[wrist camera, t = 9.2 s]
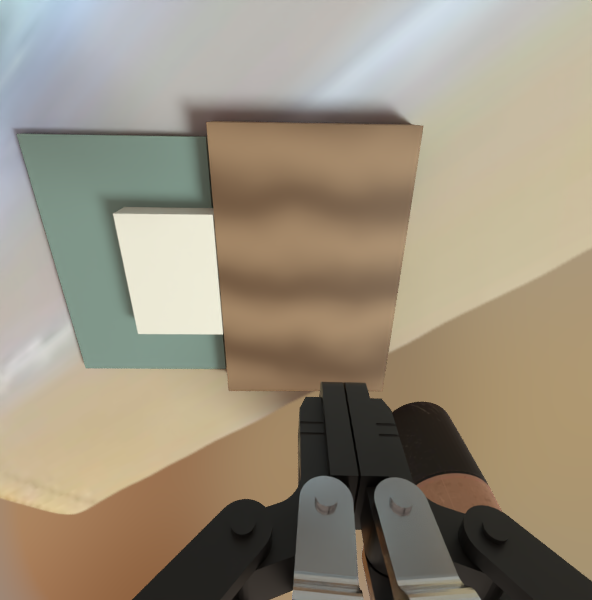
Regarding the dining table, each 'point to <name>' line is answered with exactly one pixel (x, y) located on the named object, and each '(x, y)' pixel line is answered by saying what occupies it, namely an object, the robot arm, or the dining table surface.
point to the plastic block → (171, 269)
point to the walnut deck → (309, 248)
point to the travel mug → (440, 458)
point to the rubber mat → (115, 235)
